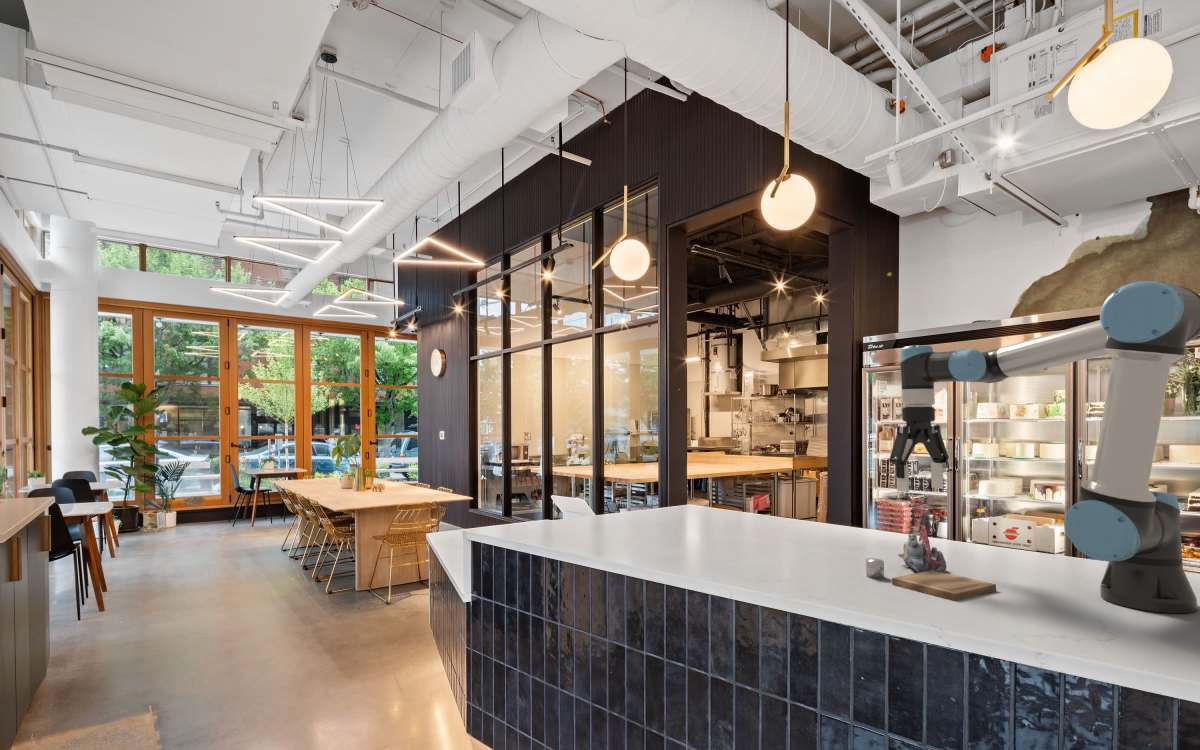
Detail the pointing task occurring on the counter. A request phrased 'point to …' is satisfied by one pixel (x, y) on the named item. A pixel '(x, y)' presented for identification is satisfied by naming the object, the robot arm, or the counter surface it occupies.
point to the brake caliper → (922, 554)
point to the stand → (944, 584)
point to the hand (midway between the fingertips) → (920, 489)
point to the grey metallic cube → (874, 568)
